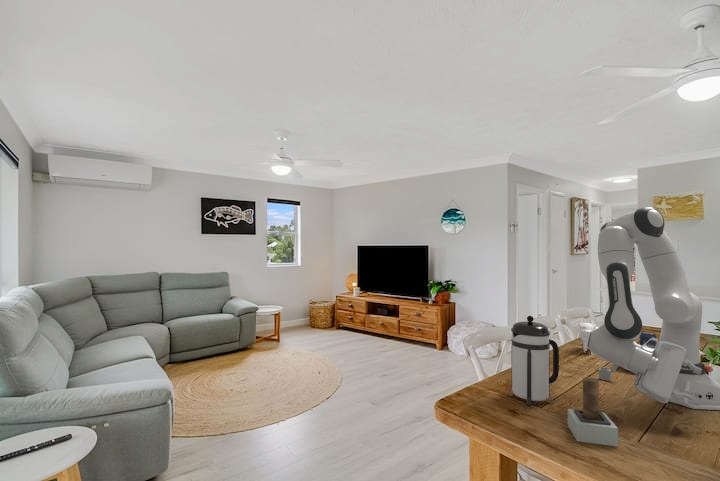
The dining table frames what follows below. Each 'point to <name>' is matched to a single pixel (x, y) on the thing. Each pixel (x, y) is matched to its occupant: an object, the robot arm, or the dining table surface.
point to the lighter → (607, 372)
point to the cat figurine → (586, 332)
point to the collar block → (592, 428)
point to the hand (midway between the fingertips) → (696, 384)
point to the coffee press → (532, 361)
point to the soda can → (646, 337)
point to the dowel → (590, 398)
